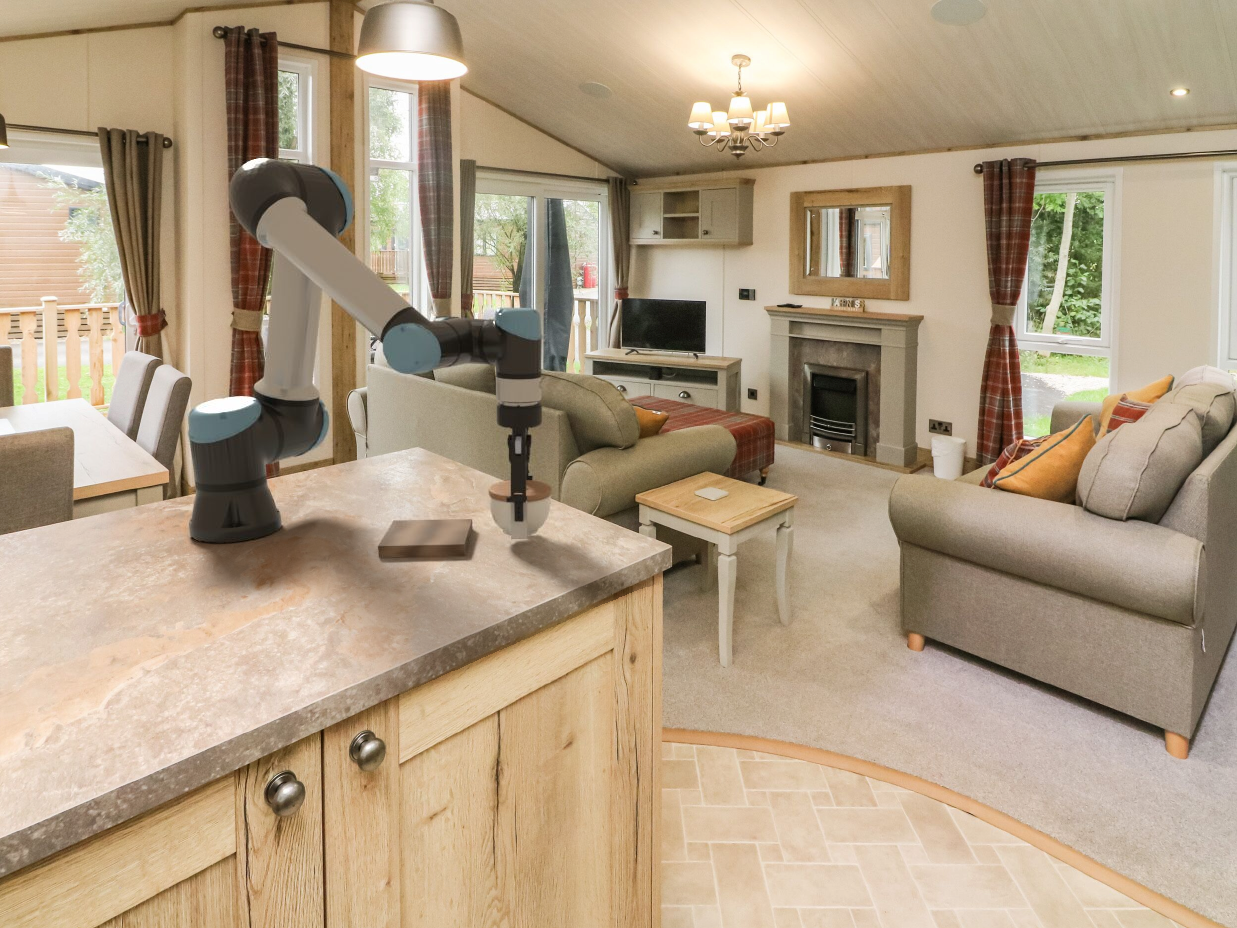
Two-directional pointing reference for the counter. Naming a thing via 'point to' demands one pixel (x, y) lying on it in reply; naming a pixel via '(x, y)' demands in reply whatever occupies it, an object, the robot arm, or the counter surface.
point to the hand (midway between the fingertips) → (520, 527)
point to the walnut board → (426, 538)
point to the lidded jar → (536, 504)
